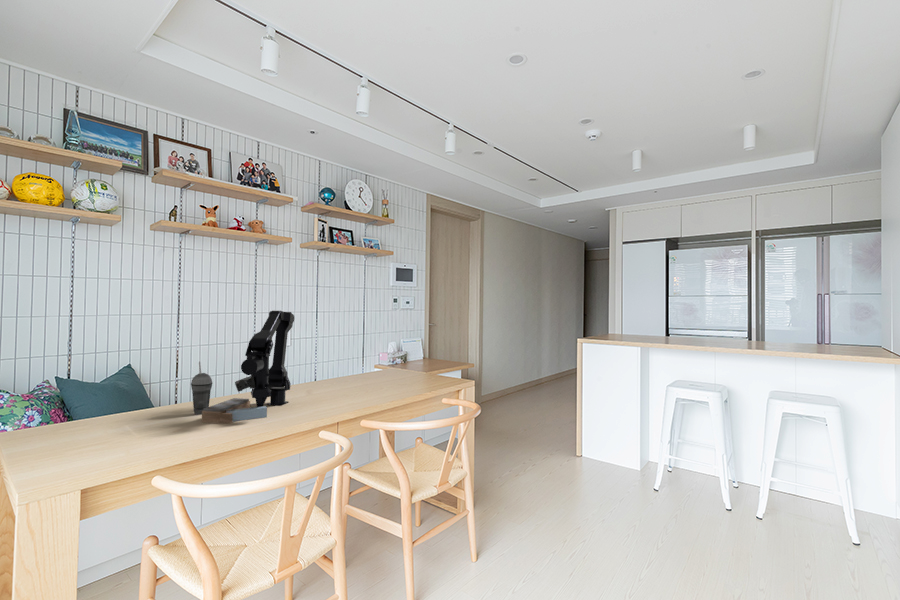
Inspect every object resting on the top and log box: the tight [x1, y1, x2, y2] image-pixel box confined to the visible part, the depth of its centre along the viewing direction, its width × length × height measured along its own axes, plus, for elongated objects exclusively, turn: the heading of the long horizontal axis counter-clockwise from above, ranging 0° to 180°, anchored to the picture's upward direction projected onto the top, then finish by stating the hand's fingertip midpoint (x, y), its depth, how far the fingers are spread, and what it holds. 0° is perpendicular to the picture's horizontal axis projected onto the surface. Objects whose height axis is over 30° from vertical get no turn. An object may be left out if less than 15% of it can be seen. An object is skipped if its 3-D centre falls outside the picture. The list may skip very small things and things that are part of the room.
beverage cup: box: [190, 361, 213, 416], centre depth 163 cm, size 7×7×20 cm
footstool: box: [201, 397, 251, 424], centre depth 160 cm, size 18×11×5 cm, turn 173°
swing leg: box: [226, 405, 268, 423], centre depth 156 cm, size 14×3×4 cm, turn 124°
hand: (259, 410), depth 161 cm, fingers closed
